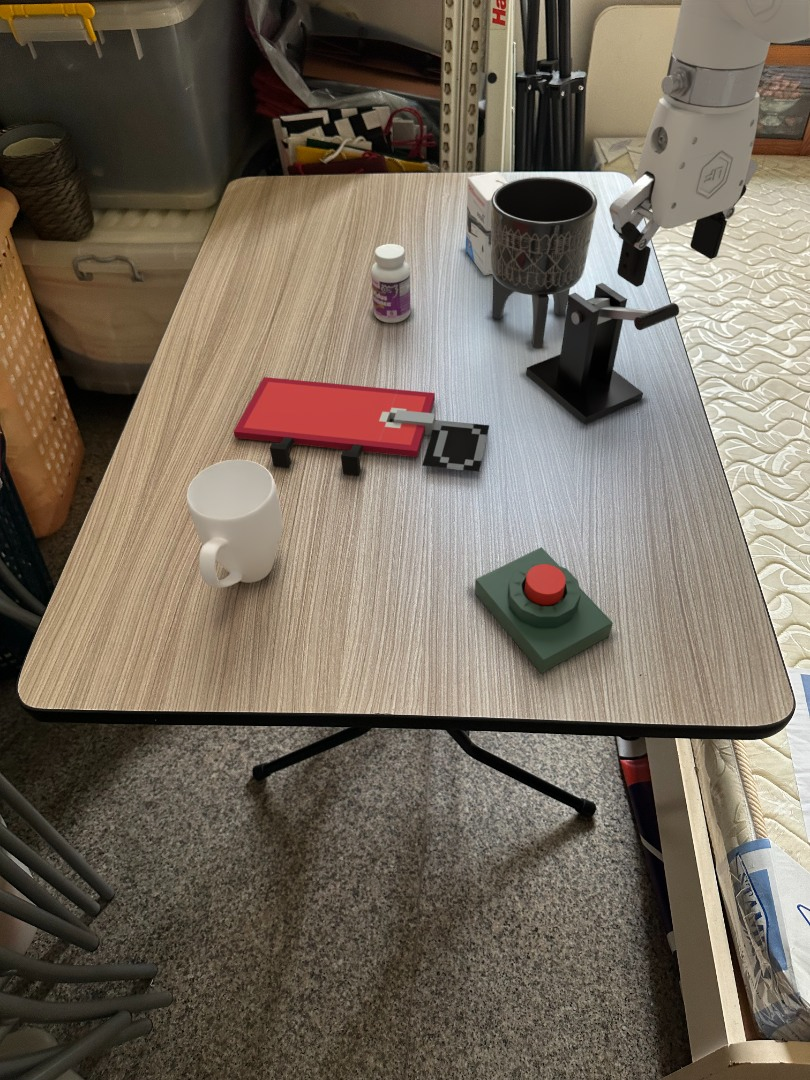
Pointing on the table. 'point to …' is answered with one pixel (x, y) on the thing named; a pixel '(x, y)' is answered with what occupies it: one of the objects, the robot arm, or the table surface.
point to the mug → (235, 521)
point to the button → (545, 584)
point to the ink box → (481, 218)
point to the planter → (539, 243)
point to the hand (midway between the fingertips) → (666, 266)
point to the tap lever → (634, 313)
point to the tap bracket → (587, 362)
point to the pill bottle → (390, 284)
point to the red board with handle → (357, 424)
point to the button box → (542, 613)
